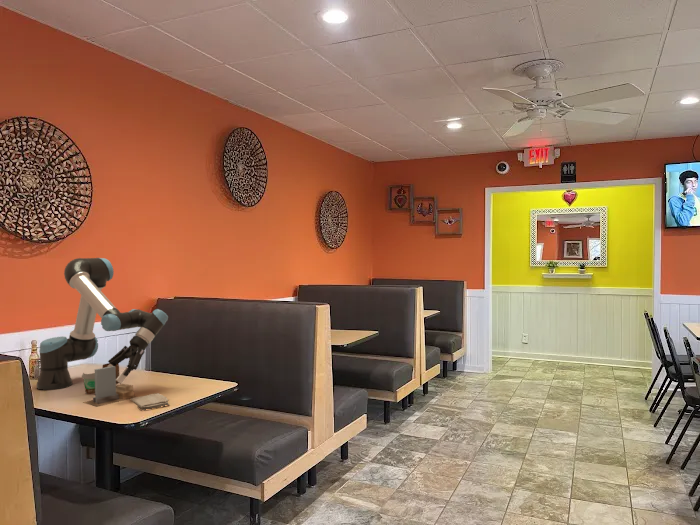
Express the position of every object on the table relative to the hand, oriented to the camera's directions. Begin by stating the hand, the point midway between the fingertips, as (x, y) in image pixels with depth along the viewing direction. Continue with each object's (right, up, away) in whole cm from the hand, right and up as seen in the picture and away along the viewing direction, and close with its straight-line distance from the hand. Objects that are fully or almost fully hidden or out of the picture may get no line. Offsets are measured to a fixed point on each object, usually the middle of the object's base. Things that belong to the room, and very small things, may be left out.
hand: (110, 380), depth 224 cm
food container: (-13, -10, +14) cm, 22 cm away
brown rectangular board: (0, -10, +1) cm, 10 cm away
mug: (-15, -10, +35) cm, 39 cm away
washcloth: (+18, -10, -4) cm, 21 cm away
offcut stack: (+3, -9, +6) cm, 11 cm away
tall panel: (-2, -9, -1) cm, 9 cm away
